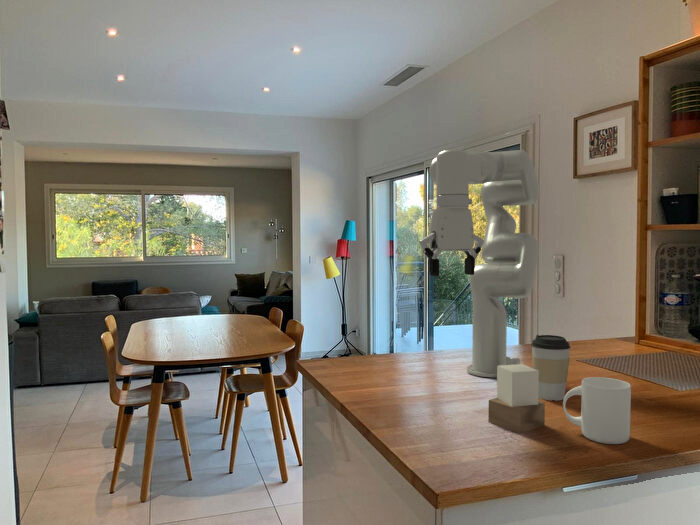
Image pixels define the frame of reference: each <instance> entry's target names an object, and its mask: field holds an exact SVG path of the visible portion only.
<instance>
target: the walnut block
mask: <svg viewBox="0 0 700 525" xmlns="http://www.w3.org/2000/svg"><path fill="white" fill-rule="evenodd" d="M545 412H546V402H544V401H540V400H538V405H527V406H515V407H511V406H510V405H508V404H506V403H504V402H503V401H501V400H499V399H498V398H497V397H496V398H491V399H488V420H487V421H488V423H490V424H491V425H492V424H493V425H495V426H499V427H502V428H504V429H506V430H510V431H512V432H516V433H518V434H522V433H525V432H529V431H531V430H535V429H537V428H540V426H541V427H543V425H544V426H545V424H546V423H545V417H546V415H545Z"/></svg>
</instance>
